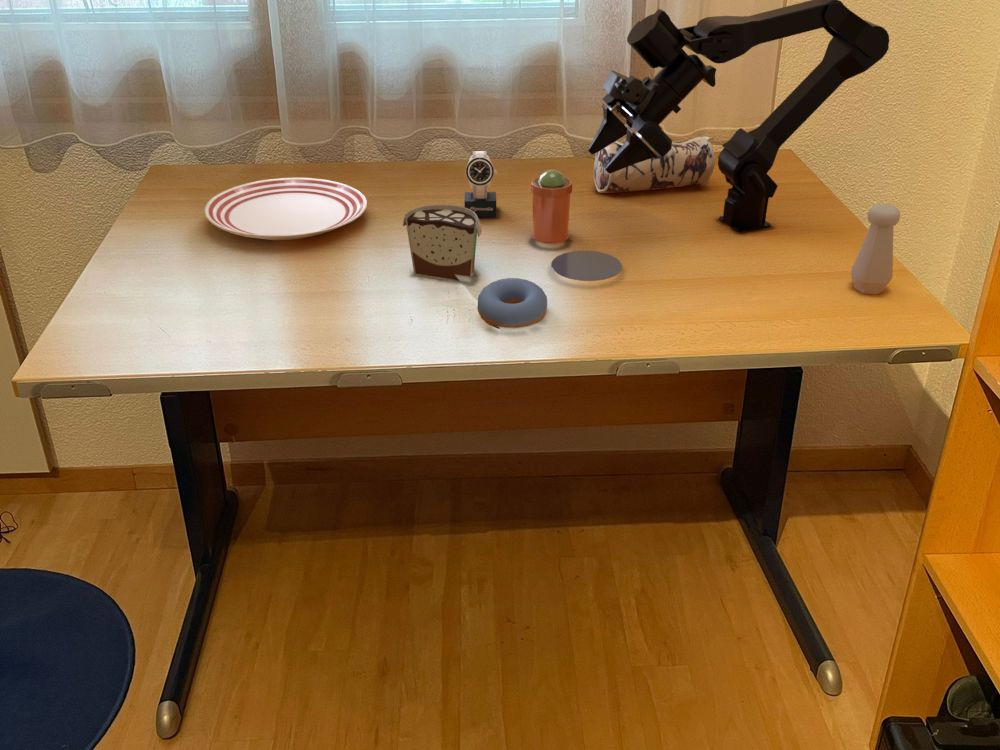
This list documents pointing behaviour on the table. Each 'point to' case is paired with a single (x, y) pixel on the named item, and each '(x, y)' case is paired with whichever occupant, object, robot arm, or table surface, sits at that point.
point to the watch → (480, 185)
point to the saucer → (586, 265)
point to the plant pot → (551, 207)
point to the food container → (442, 240)
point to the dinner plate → (285, 208)
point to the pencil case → (657, 168)
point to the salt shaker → (876, 251)
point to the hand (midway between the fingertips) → (598, 161)
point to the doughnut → (512, 303)
